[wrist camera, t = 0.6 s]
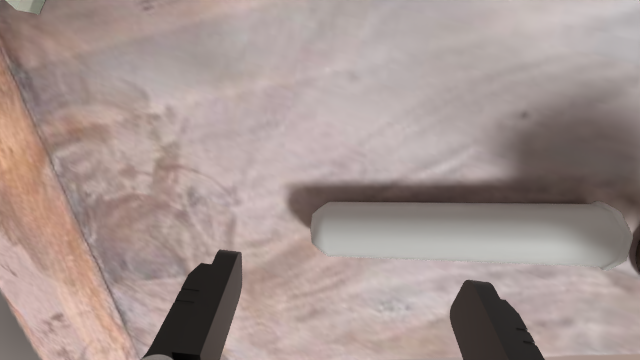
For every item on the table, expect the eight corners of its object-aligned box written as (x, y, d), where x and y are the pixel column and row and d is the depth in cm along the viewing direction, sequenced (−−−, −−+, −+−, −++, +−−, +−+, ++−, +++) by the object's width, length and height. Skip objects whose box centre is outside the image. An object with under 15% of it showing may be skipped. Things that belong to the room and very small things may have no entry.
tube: (309, 268, 29) (611, 282, 25) (301, 228, 26) (645, 236, 22) (317, 228, 33) (576, 234, 29) (311, 189, 30) (600, 189, 26)
